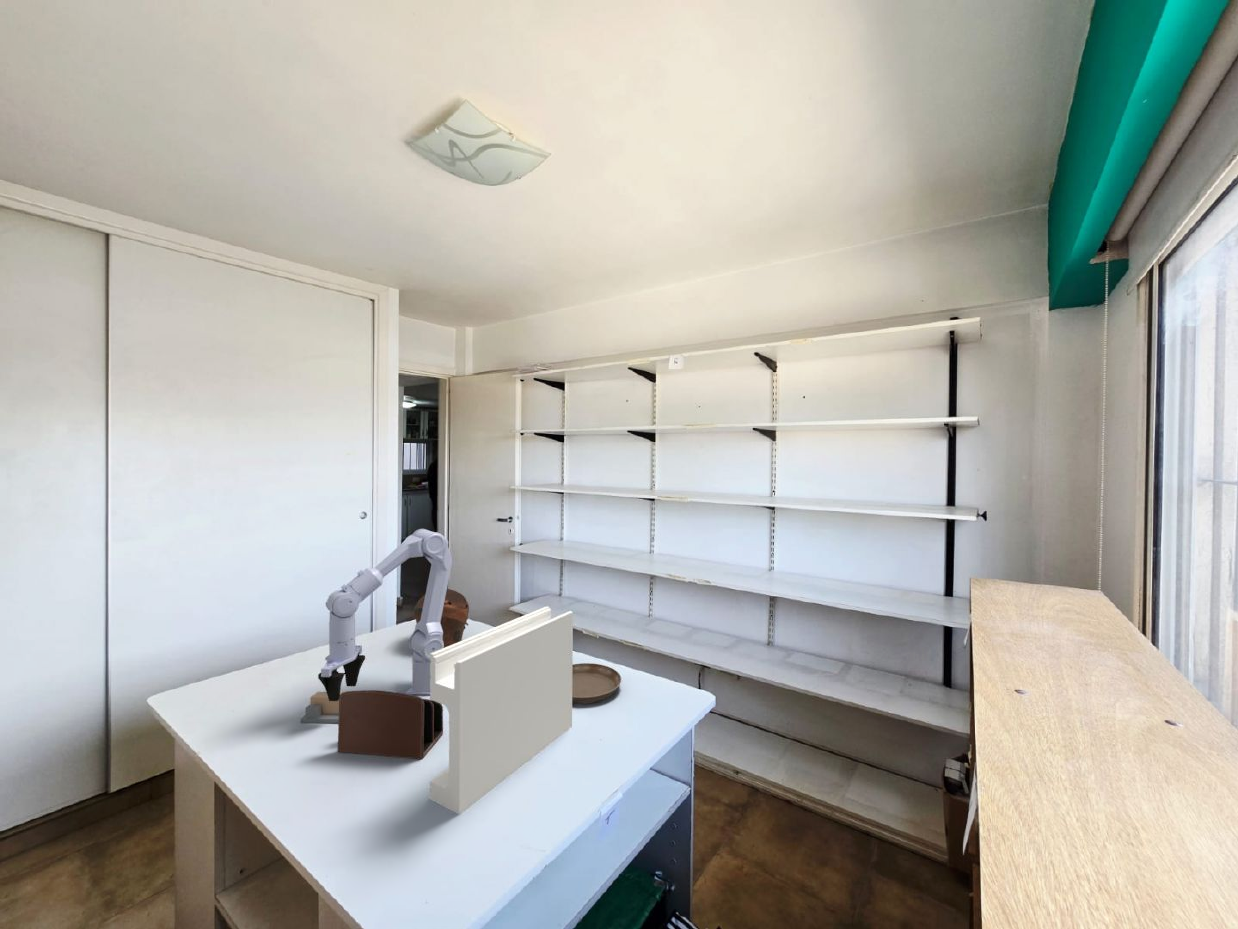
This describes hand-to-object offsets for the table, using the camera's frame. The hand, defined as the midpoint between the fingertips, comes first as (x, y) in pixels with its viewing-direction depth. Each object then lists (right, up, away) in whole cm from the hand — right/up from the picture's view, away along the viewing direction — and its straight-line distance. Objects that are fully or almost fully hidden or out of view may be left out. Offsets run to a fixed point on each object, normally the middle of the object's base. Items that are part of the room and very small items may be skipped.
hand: (342, 693), depth 127 cm
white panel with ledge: (+45, -7, -17) cm, 49 cm away
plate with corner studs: (0, -6, 0) cm, 6 cm away
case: (+9, -5, +45) cm, 46 cm away
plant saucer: (+59, -6, +15) cm, 62 cm away
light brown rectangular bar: (0, -5, 0) cm, 5 cm away
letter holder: (+18, -6, -12) cm, 22 cm away
